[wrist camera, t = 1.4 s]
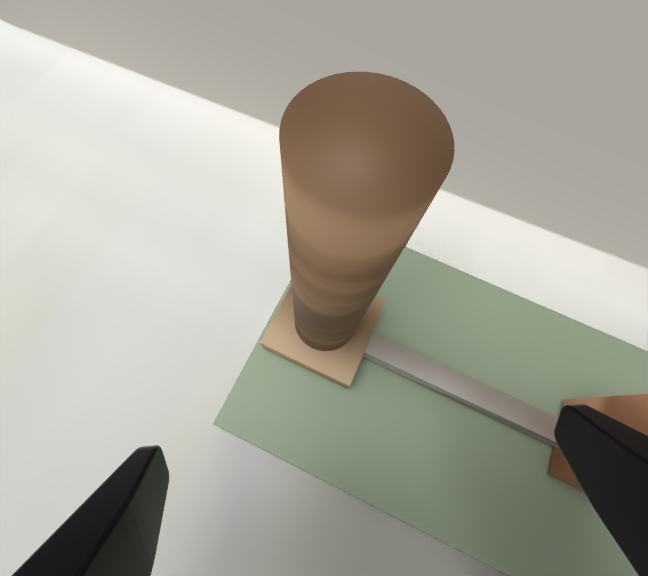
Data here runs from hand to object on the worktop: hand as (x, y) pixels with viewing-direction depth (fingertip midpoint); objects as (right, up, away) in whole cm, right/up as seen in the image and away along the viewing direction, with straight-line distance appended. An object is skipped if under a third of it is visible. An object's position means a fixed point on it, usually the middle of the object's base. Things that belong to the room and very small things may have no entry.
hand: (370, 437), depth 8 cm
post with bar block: (+6, -2, +11) cm, 13 cm away
